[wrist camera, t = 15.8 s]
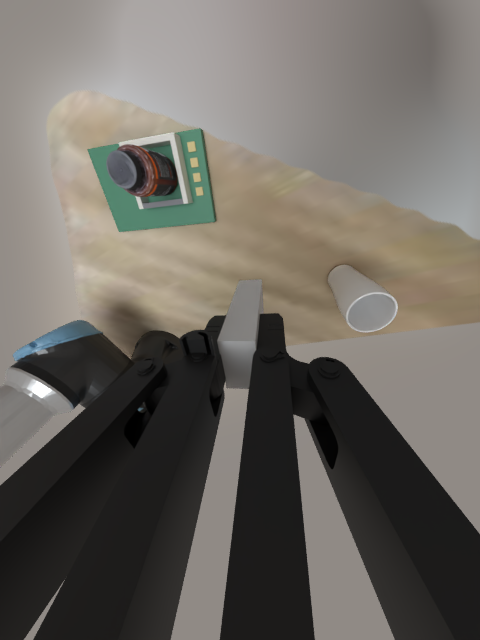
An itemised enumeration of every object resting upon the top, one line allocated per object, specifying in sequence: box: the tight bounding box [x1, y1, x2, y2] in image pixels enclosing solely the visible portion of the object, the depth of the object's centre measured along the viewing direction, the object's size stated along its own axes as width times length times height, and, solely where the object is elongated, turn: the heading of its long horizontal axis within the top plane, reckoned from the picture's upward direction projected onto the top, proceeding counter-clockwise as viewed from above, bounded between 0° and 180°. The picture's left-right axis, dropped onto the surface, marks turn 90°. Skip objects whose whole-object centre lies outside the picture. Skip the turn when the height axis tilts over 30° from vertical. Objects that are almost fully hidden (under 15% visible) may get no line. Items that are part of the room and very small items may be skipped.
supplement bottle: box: [106, 144, 178, 197], centre depth 30 cm, size 6×6×11 cm
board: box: [87, 129, 216, 232], centre depth 36 cm, size 20×13×4 cm, turn 96°
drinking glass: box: [328, 265, 398, 332], centre depth 35 cm, size 7×7×15 cm
